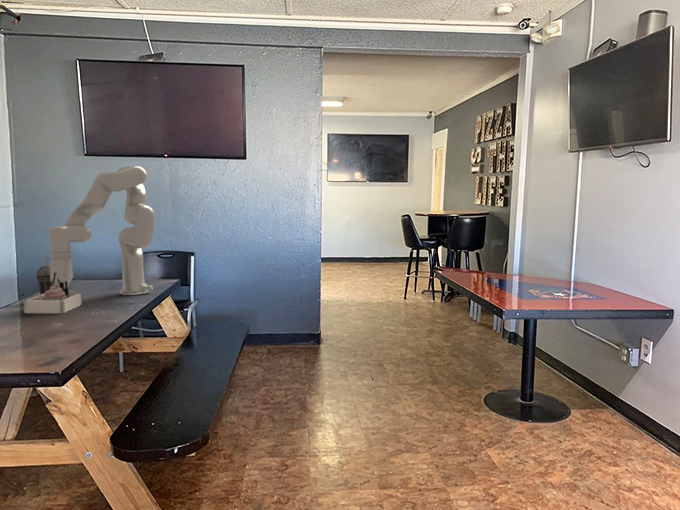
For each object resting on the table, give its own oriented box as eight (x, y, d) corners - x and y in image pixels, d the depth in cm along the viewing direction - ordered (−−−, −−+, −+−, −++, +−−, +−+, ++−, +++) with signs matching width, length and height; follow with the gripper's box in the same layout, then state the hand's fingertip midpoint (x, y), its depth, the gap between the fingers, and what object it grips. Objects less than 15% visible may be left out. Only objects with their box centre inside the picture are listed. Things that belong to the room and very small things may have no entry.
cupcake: (55, 311, 199) (53, 287, 197) (37, 309, 201) (35, 285, 200) (73, 306, 208) (72, 283, 206) (56, 304, 210) (54, 281, 209)
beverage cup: (33, 301, 215) (30, 256, 212) (48, 298, 222) (45, 254, 219) (46, 303, 213) (43, 257, 210) (60, 299, 220) (57, 255, 217)
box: (81, 305, 210) (80, 293, 209) (63, 313, 196) (62, 301, 195) (45, 304, 210) (44, 293, 209) (24, 313, 196) (23, 300, 195)
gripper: (61, 252, 215) (64, 293, 218) (41, 257, 200) (44, 301, 203) (79, 253, 215) (81, 293, 218) (60, 257, 201) (63, 301, 203)
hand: (63, 297), depth 210 cm, fingers closed
